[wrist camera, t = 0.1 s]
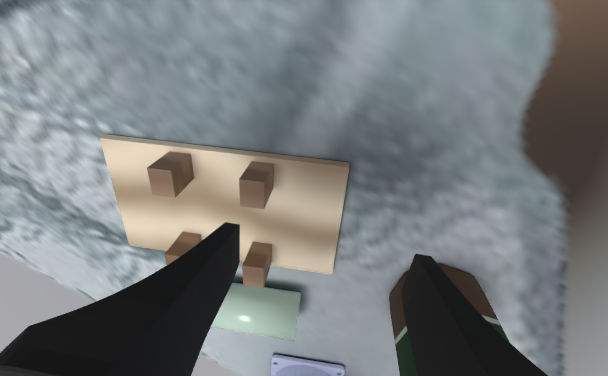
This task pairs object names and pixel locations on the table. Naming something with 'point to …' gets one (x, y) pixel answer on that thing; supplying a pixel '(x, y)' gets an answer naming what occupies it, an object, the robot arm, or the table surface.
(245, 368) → the table surface
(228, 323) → the bottle
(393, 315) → the beer bottle
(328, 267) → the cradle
